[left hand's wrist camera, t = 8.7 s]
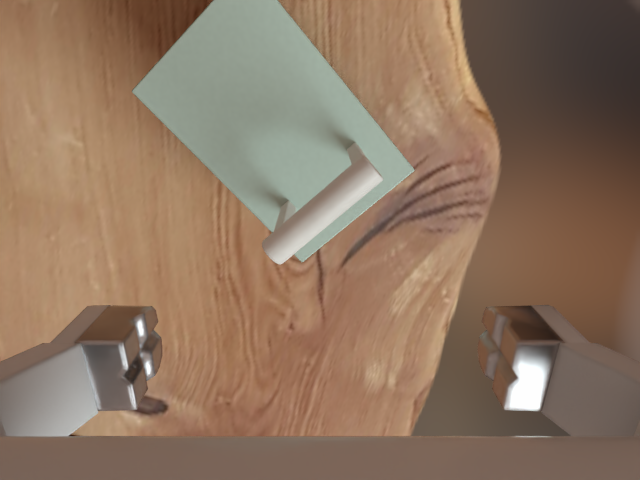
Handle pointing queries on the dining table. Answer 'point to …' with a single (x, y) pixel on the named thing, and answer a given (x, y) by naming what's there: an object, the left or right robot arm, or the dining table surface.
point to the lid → (273, 123)
